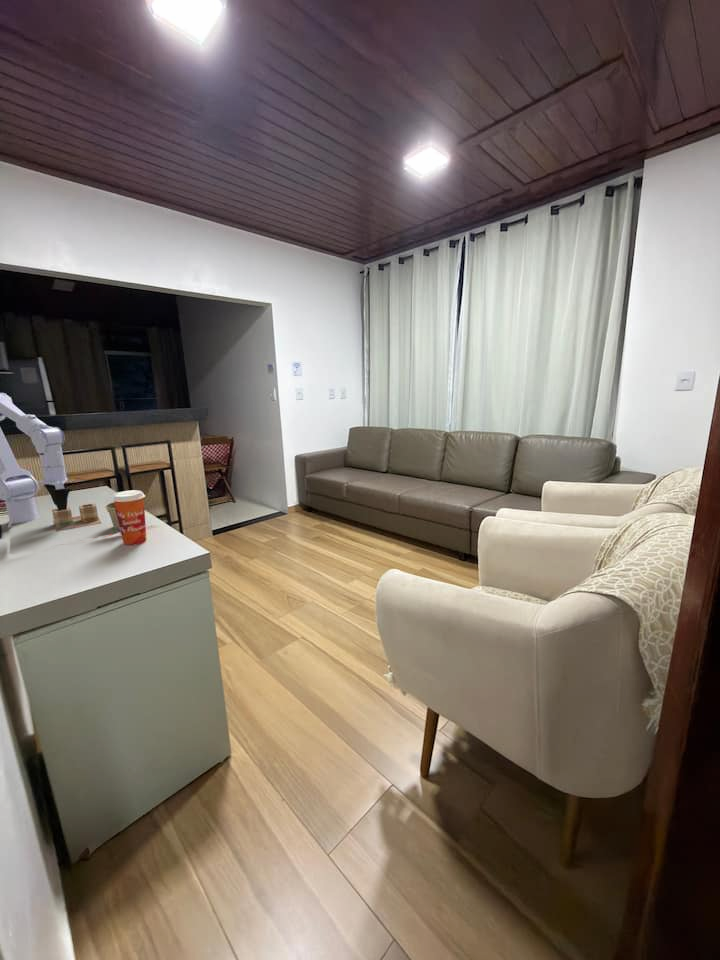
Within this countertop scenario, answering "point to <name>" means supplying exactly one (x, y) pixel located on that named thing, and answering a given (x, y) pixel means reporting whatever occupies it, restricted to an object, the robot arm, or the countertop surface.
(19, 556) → the countertop surface
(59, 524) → the sleeve
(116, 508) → the coffee cup
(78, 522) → the pin board
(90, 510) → the seated sleeve
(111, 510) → the flower pot
